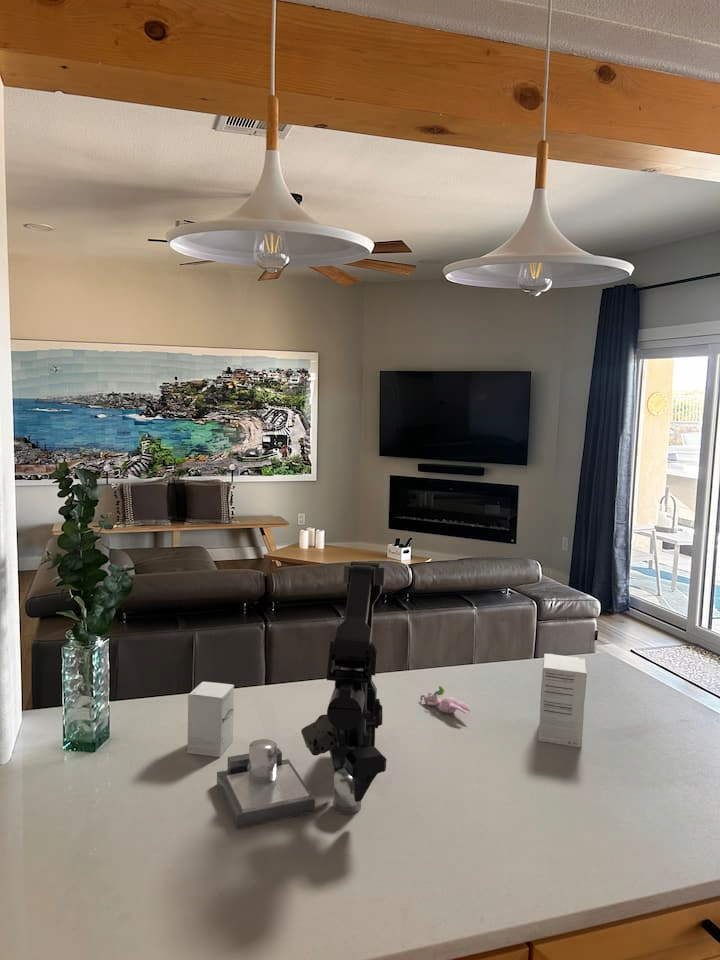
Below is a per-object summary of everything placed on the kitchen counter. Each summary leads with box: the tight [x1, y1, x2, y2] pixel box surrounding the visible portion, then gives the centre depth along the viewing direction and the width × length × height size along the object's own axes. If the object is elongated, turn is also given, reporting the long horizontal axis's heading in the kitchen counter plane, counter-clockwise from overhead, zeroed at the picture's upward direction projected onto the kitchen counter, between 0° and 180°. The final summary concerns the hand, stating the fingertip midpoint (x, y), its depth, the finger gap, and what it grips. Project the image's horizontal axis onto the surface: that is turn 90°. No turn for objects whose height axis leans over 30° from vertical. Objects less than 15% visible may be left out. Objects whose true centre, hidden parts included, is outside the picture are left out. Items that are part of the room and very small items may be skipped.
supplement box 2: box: [538, 653, 588, 748], centre depth 158 cm, size 10×9×17 cm
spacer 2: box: [332, 767, 362, 816], centre depth 128 cm, size 5×5×6 cm
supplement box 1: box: [186, 681, 235, 758], centre depth 148 cm, size 7×7×13 cm
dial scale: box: [216, 747, 316, 829], centre depth 130 cm, size 14×15×5 cm
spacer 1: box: [248, 738, 278, 784], centre depth 132 cm, size 5×5×6 cm
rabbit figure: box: [419, 685, 471, 714], centre depth 169 cm, size 6×6×15 cm
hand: (347, 787), depth 128 cm, fingers open, 9 cm apart
